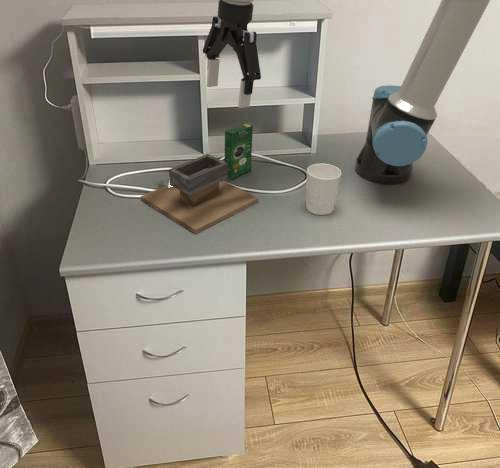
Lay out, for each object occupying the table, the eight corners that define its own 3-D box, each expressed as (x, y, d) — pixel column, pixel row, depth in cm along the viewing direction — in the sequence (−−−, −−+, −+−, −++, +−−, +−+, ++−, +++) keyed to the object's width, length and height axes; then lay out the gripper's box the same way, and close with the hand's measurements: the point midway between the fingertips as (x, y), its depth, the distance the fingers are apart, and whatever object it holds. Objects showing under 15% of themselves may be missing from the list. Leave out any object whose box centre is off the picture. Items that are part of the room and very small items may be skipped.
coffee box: (244, 166, 143) (245, 121, 136) (252, 170, 142) (253, 124, 134) (223, 176, 138) (223, 130, 131) (231, 180, 137) (231, 133, 129)
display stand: (258, 202, 128) (259, 167, 123) (195, 234, 116) (194, 197, 111) (203, 174, 139) (202, 140, 134) (141, 200, 127) (137, 165, 122)
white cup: (335, 218, 123) (340, 181, 117) (301, 214, 124) (305, 177, 118) (336, 201, 129) (342, 165, 124) (305, 198, 130) (308, 161, 125)
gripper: (191, -13, 118) (187, 79, 130) (256, 16, 103) (244, 118, 115) (219, -13, 122) (212, 76, 134) (286, 15, 106) (271, 113, 119)
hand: (227, 96), depth 124 cm, fingers open, 13 cm apart
